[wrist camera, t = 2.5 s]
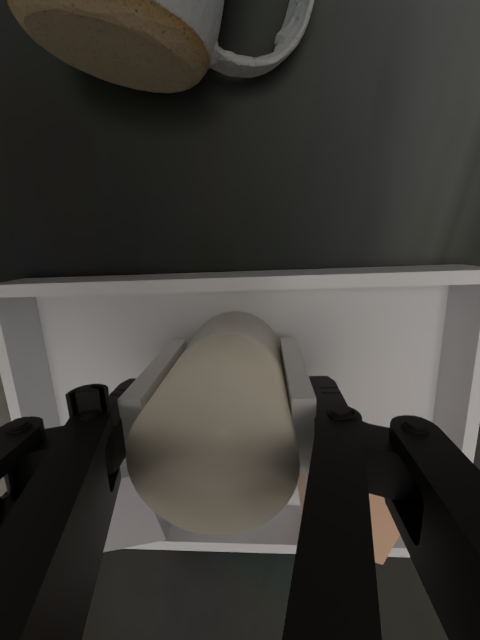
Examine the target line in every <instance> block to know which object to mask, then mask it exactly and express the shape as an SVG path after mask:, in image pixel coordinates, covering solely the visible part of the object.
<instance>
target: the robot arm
mask: <svg viewBox="0 0 480 640" xmlns="http://www.w3.org/2000/svg"><path fill="white" fill-rule="evenodd" d="M186 347H187V342H186V339H172V340H171V341H170V342H169V343H168V344H167V345H166V346H165V347H164V349H163V350H162V351H161V352H160V353H159V354H158V355H157V356H156V357H155V359H154V360H153V361H152V362H151V363H150V364H149V365H148V366H147V367H146V368H145V370H144V371H143V372H142V373H141V374H140V375H139V376H138V377H137V378H130V379H128V380H126V381H124V382H122V383H120V384H119V385H118V386H117V387H116V388H115V389H114V391H112V392H111V393H110V395H109V390H108V386H106V385H104V384H89V385H83V386H80V387H77V388H75V389H73V390H71V391H69V392H68V393H67V394H65V396H66V401H67V407H68V412H69V419H68V421H67V422H66V424H65V425H64V426H58V427H52V428H47V429H45V427H44V422H43V419H42V418H40V417H35V416H31V417H21V418H17V419H14V420H13V421H11V422H8V423H6V424H4V425H3V426H1V427H0V479H2V478H3V477H4V481H5V484H6V488H7V491H6V492H5V493H4V494H3V495H2V496H1V497H0V640H82V636H83V632H84V628H85V624H86V620H87V616H88V612H89V608H90V603H91V599H92V595H93V591H94V587H95V583H96V579H97V575H98V571H99V567H100V563H101V559H102V555H103V551H104V547H105V543H106V539H107V535H108V531H109V527H110V523H111V519H112V515H113V511H114V506H115V502H116V498H117V494H118V490H119V486H120V482H121V471H120V465H121V464H122V462H123V460H124V459H125V457H126V444H127V440H128V435H129V433H130V430H131V428H132V425H133V424H134V422H135V420H136V419H137V417H138V415H139V414H140V413H141V411H142V410H143V408H144V407H145V405H146V404H147V403H148V401H149V400H150V398H151V397H152V396H153V394H154V393H155V391H156V390H157V388H158V387H159V386H160V384H161V383H162V381H163V380H164V378H165V377H166V376H167V374H168V373H169V371H170V370H171V368H172V367H173V366H174V364H175V363H176V361H177V360H178V359H179V357H180V356H181V354H182V353H183V351H184V350H185V349H186ZM280 351H281V357H282V363H283V369H284V375H285V380H286V386H287V392H288V398H289V404H290V410H291V415H292V419H293V423H294V428H295V433H296V439H297V445H298V450H299V457H300V473H299V474H308V480H307V486H306V492H305V499H304V505H303V511H302V518H301V524H300V530H299V537H298V543H297V549H296V555H295V562H294V568H293V574H292V581H291V587H290V593H289V599H288V606H287V612H286V618H285V625H284V631H283V637H282V640H382V636H381V625H380V614H379V602H378V591H377V580H376V568H375V557H374V546H373V535H372V523H371V512H370V501H369V494H373V495H377V496H381V497H384V499H385V503H386V505H387V507H388V510H389V512H390V514H391V516H392V518H393V520H394V523H395V525H396V527H397V529H398V531H399V533H400V535H401V538H402V540H403V542H404V544H405V546H406V548H407V551H408V553H409V555H410V557H411V559H412V561H413V563H414V566H415V568H416V570H417V572H418V574H419V576H420V579H421V581H422V583H423V585H424V587H425V589H426V592H427V594H428V596H429V598H430V600H431V602H432V604H433V607H434V609H435V611H436V613H437V615H438V617H439V620H440V622H441V624H442V626H443V628H444V630H445V632H446V635H447V637H448V639H449V640H480V470H479V469H478V468H477V467H476V466H475V465H474V464H473V463H472V462H471V461H470V460H469V459H468V458H467V456H466V455H465V454H464V453H463V452H462V451H461V450H460V449H459V448H458V447H457V446H456V445H455V444H454V443H453V442H452V441H451V439H450V438H449V437H448V436H447V435H446V434H445V433H444V432H443V431H442V430H441V429H440V428H439V427H438V426H437V425H435V424H434V423H433V422H431V421H429V420H426V419H424V418H422V417H418V416H414V415H411V416H410V415H402V416H396V417H394V418H392V420H391V422H390V428H389V427H383V426H378V425H373V424H369V423H366V422H364V421H362V416H361V414H360V413H359V412H358V411H357V410H356V409H354V408H351V407H349V406H348V405H347V403H346V401H345V399H344V397H343V395H342V393H341V391H340V390H339V388H338V386H337V384H336V382H335V381H334V380H333V379H331V378H330V377H328V376H308V373H307V370H306V367H305V364H304V361H303V359H302V356H301V353H300V350H299V347H298V344H297V341H296V338H295V337H280ZM127 470H128V469H127Z"/></svg>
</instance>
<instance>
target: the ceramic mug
mask: <svg viewBox="0 0 480 640" xmlns="http://www.w3.org/2000/svg"><path fill="white" fill-rule="evenodd" d="M6 1H7V3H8V6H9V8H10V10H11V12H12V13H13V15H14V17H15V18H16V20H17V21H18V22H19V24H20V25H21V27H22V28H23V29H24V30H25V31H26V33H27V34H28V35H29V36H30V37H31V38H32V39H33V40H34V41H35V42H36V43H37V44H39V45H40V46H41V47H42V48H44V49H45V50H46V51H48V52H49V53H51V54H52V55H54V56H55V57H57V58H58V59H59V60H61V61H63V62H65V63H67V64H69V65H70V66H72V67H74V68H76V69H78V70H81V71H83V72H85V73H87V74H90V75H92V76H94V77H96V78H99V79H102V80H105V81H107V82H110V83H113V84H117V85H121V86H124V87H128V88H132V89H135V90H143V91H148V92H154V93H176V92H182V91H185V90H187V89H190V88H192V87H193V86H195V85H196V84H198V83H199V82H200V81H201V79H202V78H203V77H204V76H205V74H206V73H207V71H208V69H209V68H211V69H213V70H215V71H217V72H220V73H222V74H223V75H226V76H230V77H245V78H252V77H257V76H260V75H264V74H266V73H267V72H270V71H272V70H273V69H274V68H276V67H277V66H278V65H279V64H280V63H281V62H283V61H284V60H285V59H286V58H287V57H288V56H289V55H290V54H291V53H292V52H293V50H294V49H295V48H296V47H297V45H298V44H299V42H300V40H301V38H302V36H303V35H304V33H305V30H306V28H307V25H308V22H309V19H310V16H311V12H312V8H313V5H314V0H289V4H288V8H287V12H286V16H285V20H284V23H283V26H282V28H281V31H279V32H278V33H277V35H276V37H275V42H274V44H275V48H274V51H273V52H272V53H270V54H267V55H264V56H260V57H257V58H254V57H250V56H244V55H237V54H235V53H233V52H231V51H226V50H223V49H222V48H221V47H220V46H219V45H218V36H219V31H220V25H221V19H222V13H223V7H224V0H6Z"/></svg>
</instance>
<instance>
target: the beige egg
mask: <svg viewBox="0 0 480 640" xmlns="http://www.w3.org/2000/svg"><path fill="white" fill-rule="evenodd" d="M126 464H127V469H128V473H129V476H130V479H131V482H132V484H133V486H134V488H135V489H136V491H137V493H138V494H139V496H140V497H141V499H142V500H143V501H144V502H145V503H146V504H147V505H148V507H149V508H150V509H152V510H153V511H154V512H155V513H156V514H157V515H159V516H160V517H162V518H163V519H164V520H166V521H168V522H170V523H171V524H173V525H175V526H177V527H180V528H182V529H185V530H188V531H191V532H195V533H200V534H205V535H216V536H217V535H232V534H239V533H243V532H247V531H250V530H252V529H255V528H257V527H259V526H261V525H263V524H265V523H267V522H268V521H270V520H271V519H272V518H274V517H275V516H276V515H277V514H278V513H279V512H281V511H282V509H283V508H284V507H285V506H286V505H287V503H288V502H289V500H290V499H291V497H292V495H293V493H294V491H295V489H296V486H297V483H298V479H299V473H300V457H299V450H298V445H297V439H296V433H295V428H294V423H293V419H292V415H291V410H290V404H289V398H288V392H287V386H286V380H285V375H284V369H283V363H282V357H281V351H280V344H279V341H278V338H277V336H276V334H275V333H274V331H273V330H272V328H271V327H270V326H269V325H268V324H267V323H266V322H264V321H263V320H262V319H260V318H258V317H257V316H254V315H252V314H249V313H246V312H239V311H232V312H225V313H221V314H218V315H216V316H214V317H212V318H210V319H209V320H208V321H206V322H205V323H204V324H203V325H202V326H201V328H200V329H199V330H198V331H197V333H196V334H195V336H194V337H193V339H192V340H191V341H190V343H189V344H188V346H187V347H186V349H185V350H184V351H183V353H182V354H181V356H180V357H179V359H178V360H177V361H176V363H175V364H174V366H173V367H172V368H171V370H170V371H169V373H168V374H167V376H166V377H165V378H164V380H163V381H162V383H161V384H160V386H159V387H158V388H157V390H156V391H155V393H154V394H153V396H152V397H151V398H150V400H149V401H148V403H147V404H146V405H145V407H144V408H143V410H142V411H141V413H140V414H139V415H138V417H137V419H136V420H135V422H134V424H133V425H132V428H131V430H130V433H129V435H128V440H127V444H126Z"/></svg>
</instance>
